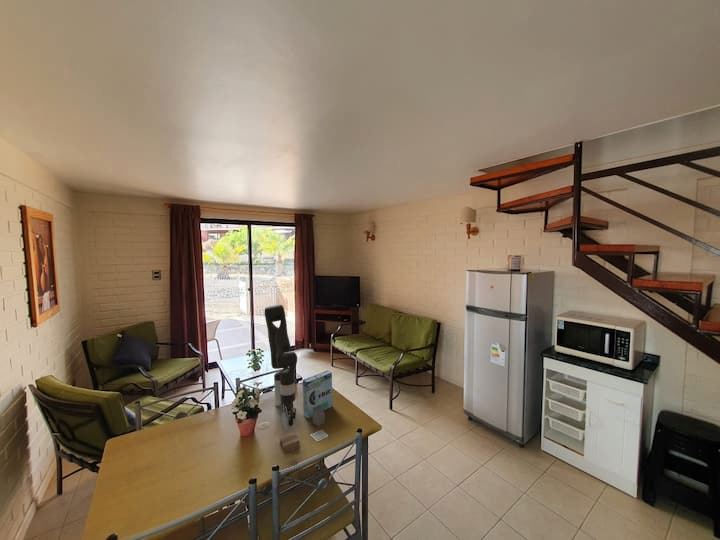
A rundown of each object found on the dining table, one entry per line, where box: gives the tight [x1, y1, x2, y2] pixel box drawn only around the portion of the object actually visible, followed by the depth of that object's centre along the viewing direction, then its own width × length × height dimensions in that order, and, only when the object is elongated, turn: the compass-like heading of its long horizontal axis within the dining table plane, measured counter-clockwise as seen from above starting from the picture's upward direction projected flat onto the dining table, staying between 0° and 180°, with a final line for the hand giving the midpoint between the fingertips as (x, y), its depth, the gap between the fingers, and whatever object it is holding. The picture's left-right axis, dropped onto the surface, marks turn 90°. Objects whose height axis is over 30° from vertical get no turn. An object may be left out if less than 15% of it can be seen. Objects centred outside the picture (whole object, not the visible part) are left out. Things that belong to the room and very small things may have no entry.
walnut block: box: [279, 431, 301, 454], centre depth 149 cm, size 8×8×4 cm
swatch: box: [310, 429, 329, 443], centre depth 156 cm, size 7×7×1 cm
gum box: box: [302, 370, 334, 419], centre depth 180 cm, size 20×5×23 cm, turn 134°
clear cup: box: [281, 412, 296, 430], centre depth 148 cm, size 5×5×6 cm
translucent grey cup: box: [312, 410, 326, 427], centre depth 168 cm, size 5×5×6 cm
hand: (288, 423), depth 148 cm, fingers closed on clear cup, 5 cm apart
